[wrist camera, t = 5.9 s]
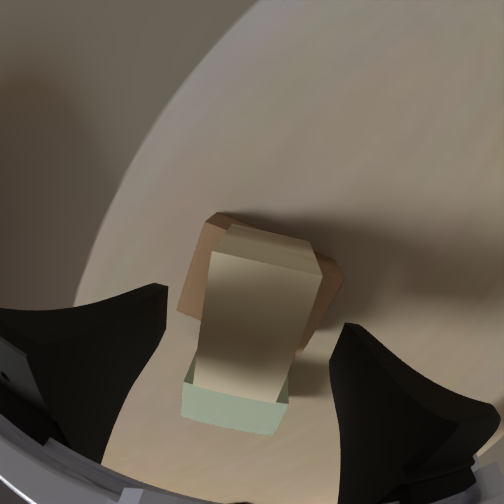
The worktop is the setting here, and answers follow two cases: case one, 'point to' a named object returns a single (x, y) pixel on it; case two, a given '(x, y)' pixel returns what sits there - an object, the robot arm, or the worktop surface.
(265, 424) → the sage brick
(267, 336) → the maple brick
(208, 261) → the walnut slab
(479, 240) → the worktop surface
